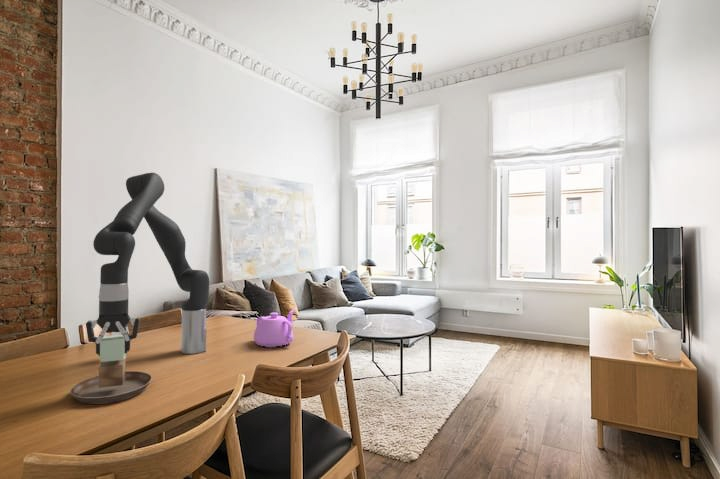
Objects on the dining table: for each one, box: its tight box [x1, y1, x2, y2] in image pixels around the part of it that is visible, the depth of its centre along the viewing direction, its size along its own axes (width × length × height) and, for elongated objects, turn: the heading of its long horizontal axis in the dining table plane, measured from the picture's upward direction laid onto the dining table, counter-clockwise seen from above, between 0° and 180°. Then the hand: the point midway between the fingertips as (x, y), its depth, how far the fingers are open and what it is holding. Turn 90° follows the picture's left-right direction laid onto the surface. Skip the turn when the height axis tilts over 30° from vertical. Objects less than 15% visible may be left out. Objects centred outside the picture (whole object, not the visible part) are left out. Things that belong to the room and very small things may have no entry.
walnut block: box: [98, 358, 126, 388], centre depth 119 cm, size 6×6×6 cm
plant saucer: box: [69, 370, 152, 405], centre depth 120 cm, size 21×21×3 cm
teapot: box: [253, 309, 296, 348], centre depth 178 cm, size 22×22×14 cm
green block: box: [99, 335, 127, 363], centre depth 120 cm, size 6×6×6 cm
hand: (113, 353), depth 120 cm, fingers closed on green block, 6 cm apart
